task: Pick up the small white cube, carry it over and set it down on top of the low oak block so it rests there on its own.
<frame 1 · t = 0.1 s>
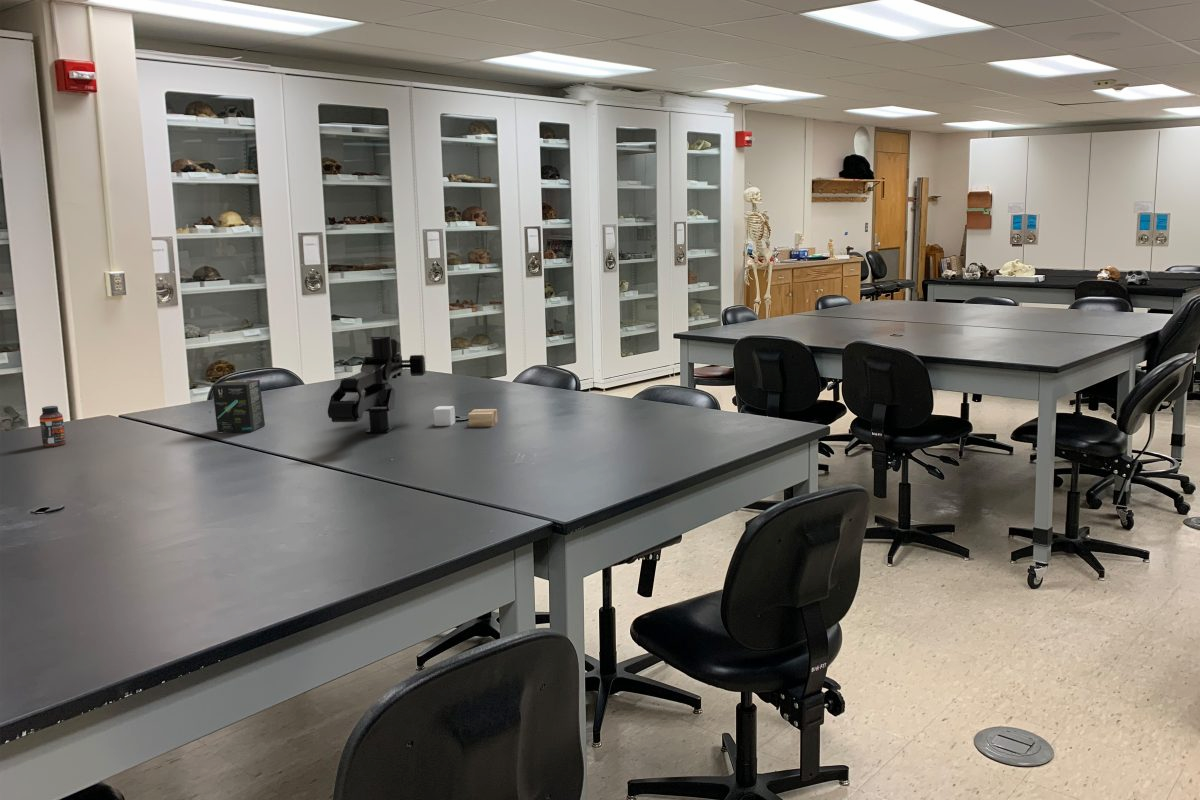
hand: (403, 362, 304), 17 cm above the table, tool horizontal, fingers open, 9 cm apart
tampon box: (241, 430, 293), on the table
white cube: (445, 424, 289), on the table
supplement bottle: (55, 445, 281), on the table
oak block: (483, 424, 287), on the table
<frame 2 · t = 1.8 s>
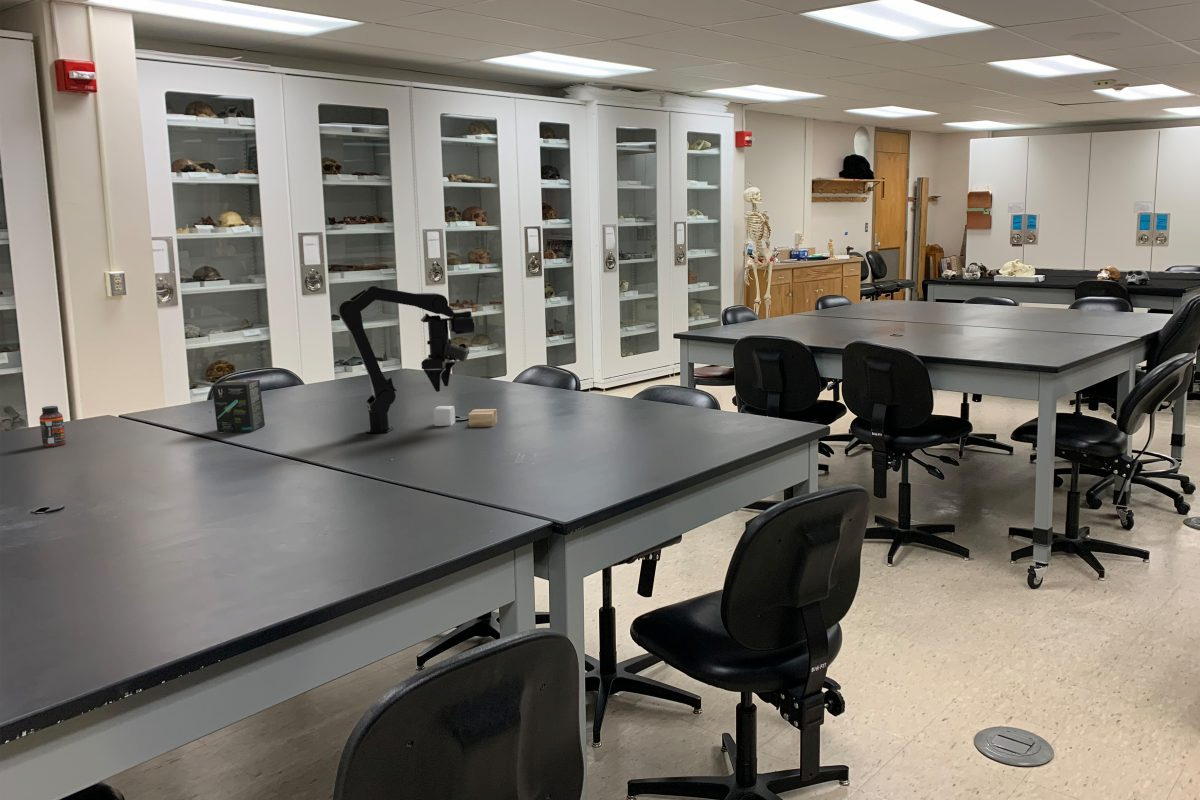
hand: (442, 388, 287), 11 cm above the table, tool pointing down, fingers open, 9 cm apart
nothing on the table moved.
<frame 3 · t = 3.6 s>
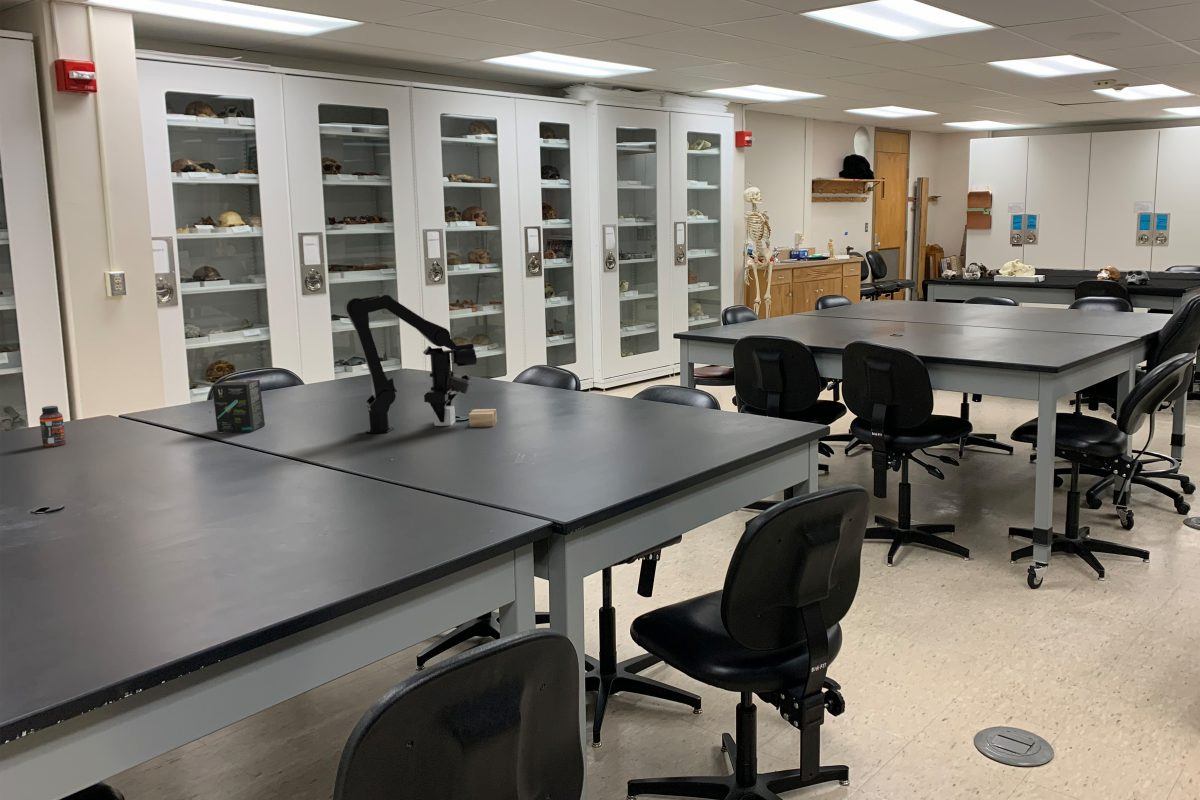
hand: (444, 420, 289), 1 cm above the table, tool pointing down, fingers closed on white cube, 5 cm apart
white cube: (445, 423, 289), on the table, touching gripper
everything else where it was.
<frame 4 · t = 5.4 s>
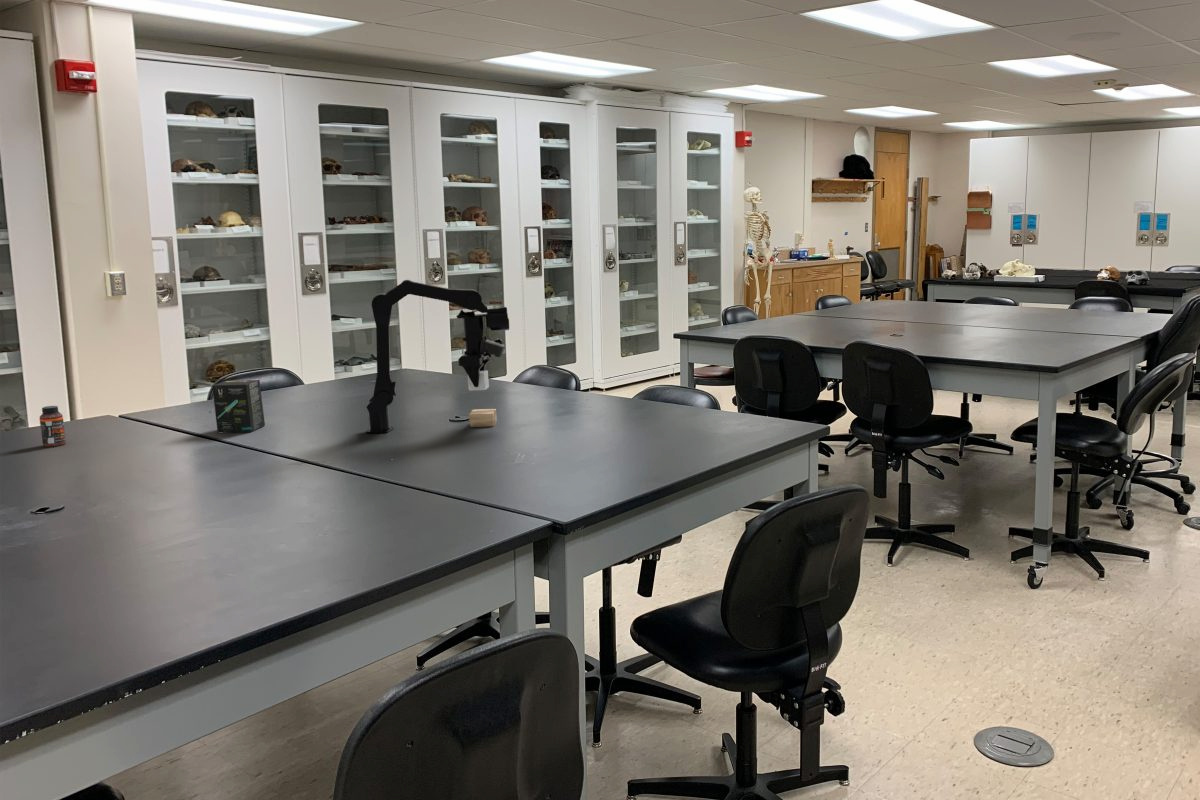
hand: (478, 385, 285), 12 cm above the table, tool pointing down, fingers closed on white cube, 5 cm apart
white cube: (478, 388, 285), point 10 cm above the table, touching gripper
everything else where it was.
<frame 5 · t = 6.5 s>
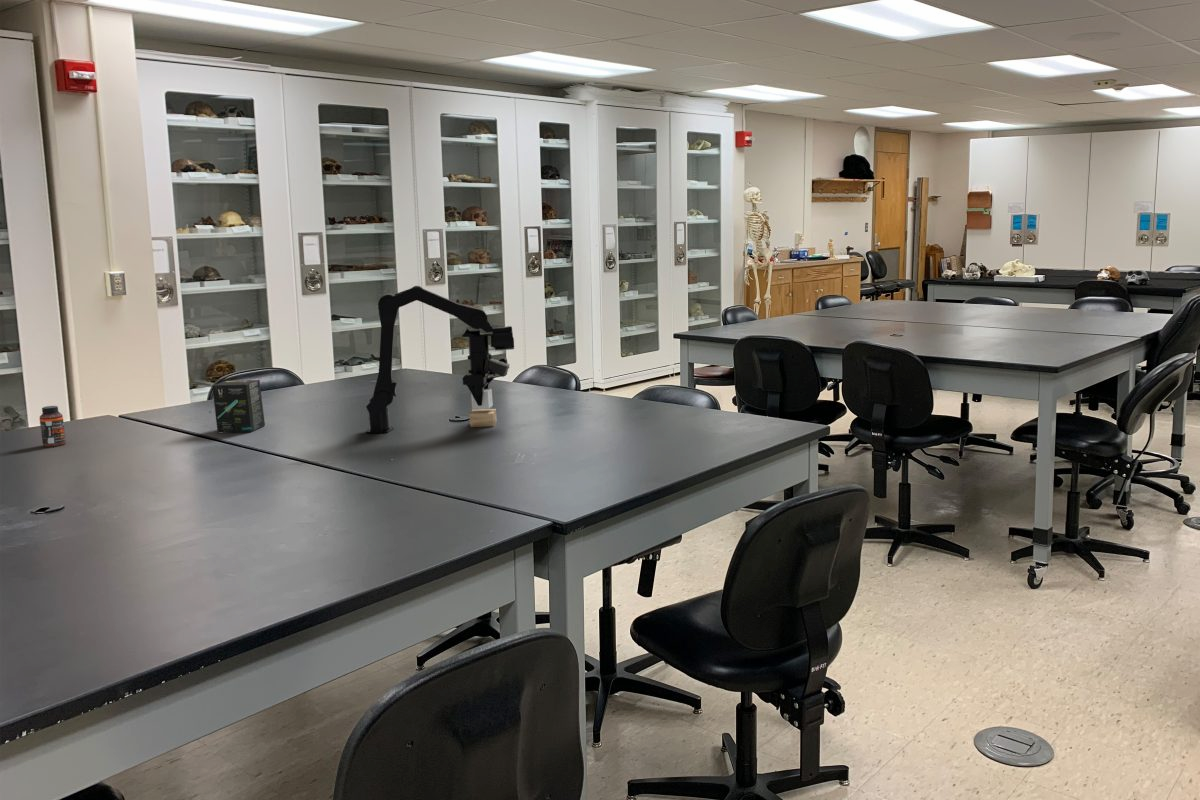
hand: (482, 403, 286), 6 cm above the table, tool pointing down, fingers closed on white cube, 5 cm apart
white cube: (482, 407, 286), point 5 cm above the table, touching gripper
everything else where it was.
when the fingers open (6 cm above the table, at t = 7.2 s): white cube drops 1 cm, resting on oak block.
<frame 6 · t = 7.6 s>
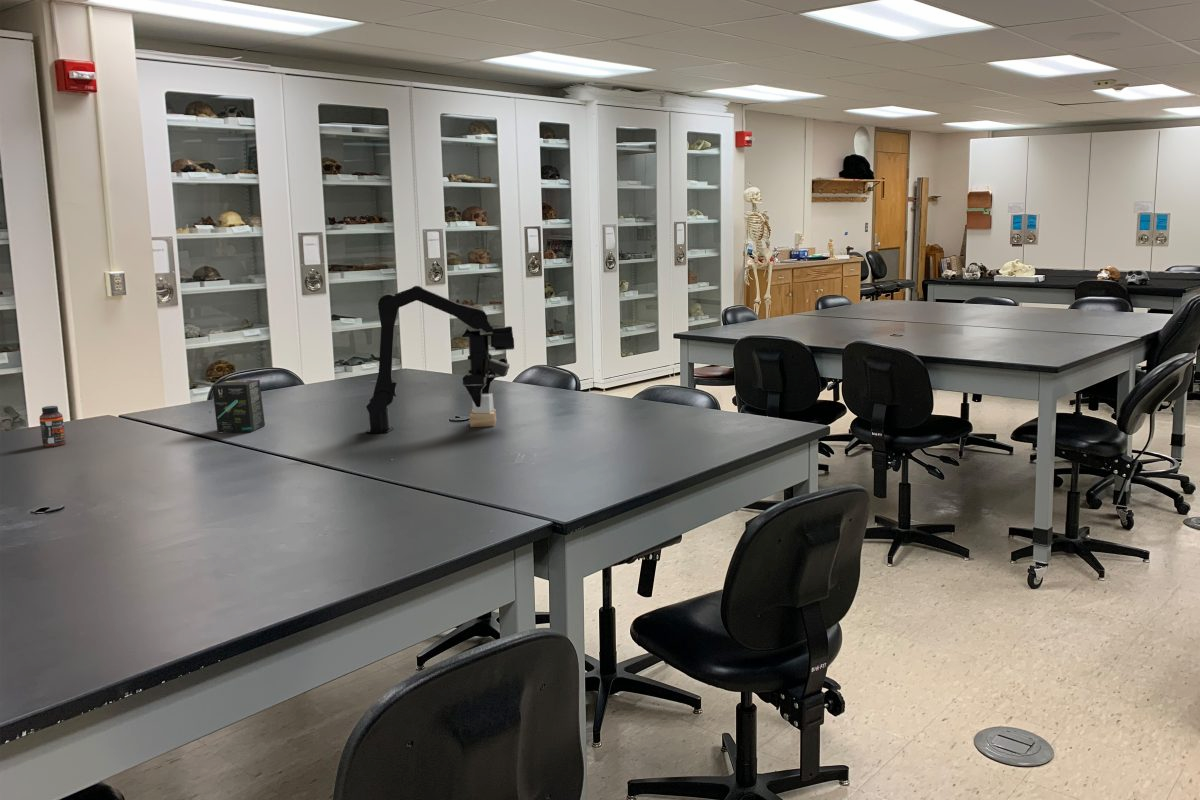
hand: (482, 403, 286), 6 cm above the table, tool pointing down, fingers open, 9 cm apart
white cube: (483, 411, 286), point 4 cm above the table, touching oak block
oak block: (483, 424, 287), on the table, touching white cube
everything else where it was.
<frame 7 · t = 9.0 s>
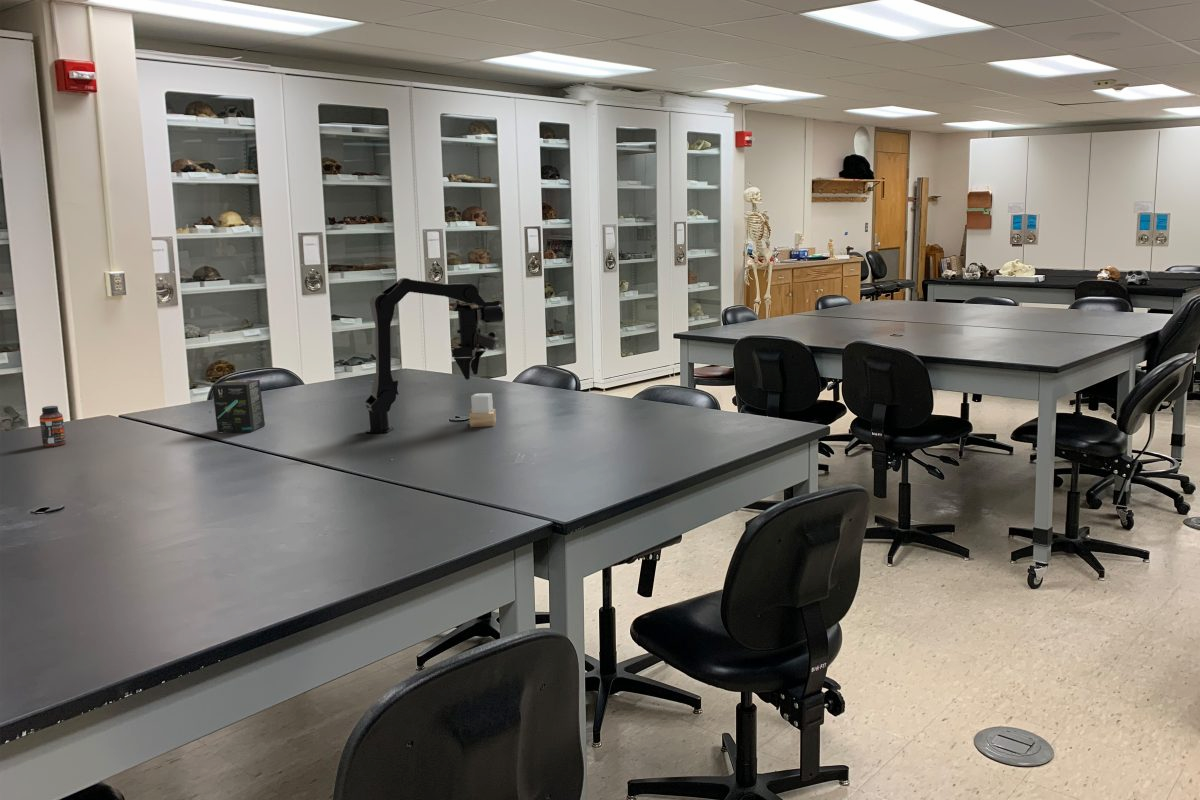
hand: (471, 376, 292), 13 cm above the table, tool pointing down, fingers open, 9 cm apart
nothing on the table moved.
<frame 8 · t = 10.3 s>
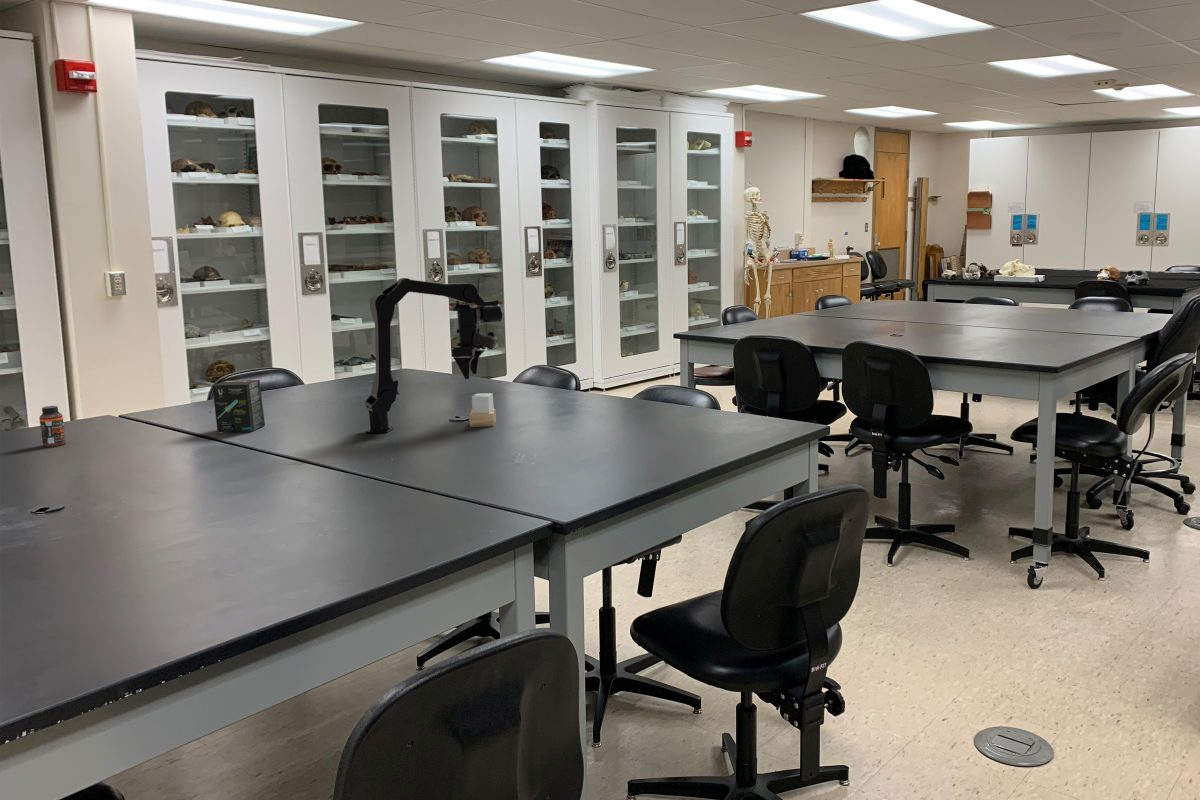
hand: (470, 376, 293), 13 cm above the table, tool pointing down, fingers open, 9 cm apart
nothing on the table moved.
at the end: white cube 0.3 cm off-centre on the oak block, point 4.0 cm above the oak block's base; white cube tilted 0°; the gripper is holding nothing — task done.
